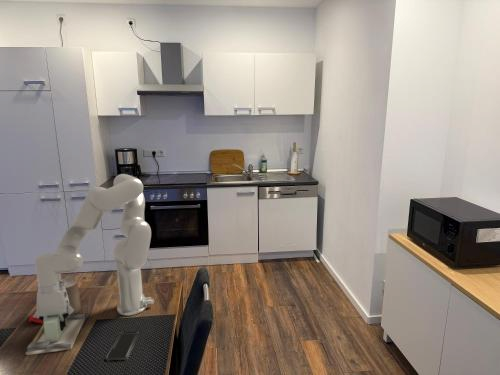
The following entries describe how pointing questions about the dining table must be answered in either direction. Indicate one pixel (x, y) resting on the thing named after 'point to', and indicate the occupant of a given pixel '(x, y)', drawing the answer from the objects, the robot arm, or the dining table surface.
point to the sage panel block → (52, 328)
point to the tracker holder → (35, 319)
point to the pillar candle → (73, 294)
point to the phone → (122, 346)
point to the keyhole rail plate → (63, 343)
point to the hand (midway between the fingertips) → (56, 329)
